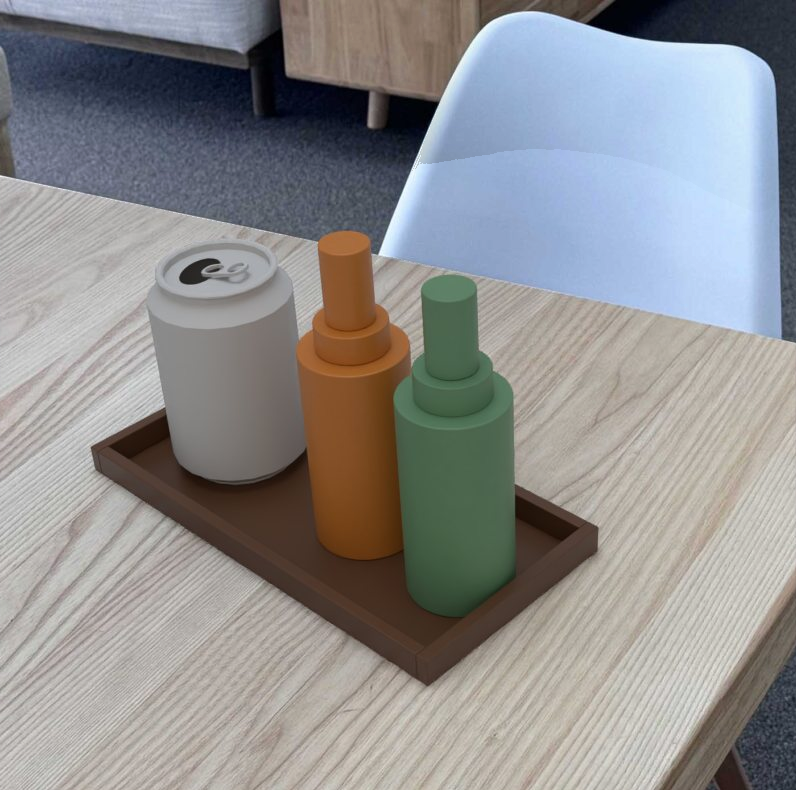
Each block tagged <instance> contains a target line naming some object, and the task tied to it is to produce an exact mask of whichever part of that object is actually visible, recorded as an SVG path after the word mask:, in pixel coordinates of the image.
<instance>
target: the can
mask: <svg viewBox="0 0 796 790" xmlns="http://www.w3.org/2000/svg"><path fill="white" fill-rule="evenodd" d="M278 259H279V258H278V256H277V255H276V254H275V252H274V251H273V250H272V249H271V248H269V247H267V246H265V245H263V244H262V243H259V242H257V241H252V240H248V239H244V238H230V237H229V238H227V237H225V238H215V239H214V238H213V239H205V240H201V241H196V242H193V243H189V244H187V245H184V246H182V247H179V248H176V249H174V250H173V251H172V252H170V253H168V254H167V255H165V256H164V257H163V258H162V259H161V261H160V262H159V263H158V264H157V266H155V269H154V270H155V271H154V280H155V282H154V283H153V285H152V286H151V288H150V289H149V290H148V292H147V297H146V308H147V315H148V320H149V325H150V331H151V337H152V341H153V347H154V353H155V359H156V364H157V369H158V374H159V375H158V376H159V380H160V385H161V391H162V396H163V402H164V407H165V408H166V414H167V419H168V425H169V430H170V436H171V441H172V447H173V452H174V455H175V456H176V458H177V460H178V462H179V464H180V465H181V466H183V467H184V468H185V469H187V470H188V471H190V472H191V473H193V474H196V475H199V476H202V477H203V478H204V479H207V480H210V481H213V482H216V483H219V484H231V485H239V484H249V483H255V482H258V481H261V480H265V479H268V478H270V477H272V476H274V475H276V474H278V473H280V472H282V471H283V470H284V469H285V468H286V467H287V466H288V465H289V464H291V463H292V462H293V461H294V460H295V459H296V458H298V457H299V456H300V455H301V454H302V453H303V452H304V450H305V448H306V437H305V429H304V420H303V411H302V402H301V394H300V385H299V376H298V368H297V359H296V348H297V345H298V343H299V341H300V338H299V337H300V336H299V328H298V318H297V311H296V310H297V309H296V302H295V301H296V300H295V293H294V283H293V279H292V278H291V276H290V275H289V274H288V273H287V271H286V270H285V269H283V268H282V267H280V266H279V260H278Z"/></svg>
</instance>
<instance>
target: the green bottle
mask: <svg viewBox="0 0 796 790" xmlns="http://www.w3.org/2000/svg"><path fill="white" fill-rule="evenodd" d="M420 300H421V319H422V335H423V338H422V340H423V352H422V353H421V354H419V355H418V356H417V357H416V358H415V359H414V361H413V363H412V364H411V367H412V374H411V375H409V376H408V377H406V378H405V379H404V380H403V381H402V382H401V383H400V384H399V385H398V387H397V388H396V390H395V393H394V397H393V404H394V418H395V432H396V446H397V460H398V474H399V488H400V502H401V517H402V531H403V545H404V559H405V573H406V585H407V590H408V592H409V594H410V596H411V598H412V599H413V600H414V601H415V602H416V603H417V604H418V605H419V606H420V607H422V608H423V609H425V610H427V611H429V612H431V613H434V614H437V615H441V616H446V617H454V618H464V617H466V616H467V615H468V614H469V613H471V612H472V611H473V610H475V609H476V608H477V607H478V606H480V605H481V604H482V603H484V602H485V601H486V600H487V599H489V598H490V597H491V596H493V595H494V594H495V593H497V592H498V591H499V590H500V589H502V588H503V587H504V586H506V585H507V584H508V583H509V582H511V581H512V580H513V579H515V578H516V544H515V484H516V483H515V481H516V480H515V479H516V478H515V475H516V473H515V407H514V406H515V405H514V404H515V401H514V395H515V393H514V390H513V387H512V385H511V384H510V382H509V381H508V380H507V379H506V378H505V377H504V376H503V375H501V374H500V373H498V372H497V371H494V365H493V362H492V359H491V358H490V357H489V355H487V354H486V353H484V352H483V351H481V350H480V344H479V343H480V340H479V308H478V307H479V306H478V304H479V303H478V286H477V284H476V282H475V281H474V280H473V279H471V278H470V277H468V276H465V275H460V274H441V275H436V276H433V277H431V278H429V279H427V280H426V281H424V283H423V284H422V285H421V287H420Z"/></svg>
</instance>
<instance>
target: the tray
mask: <svg viewBox="0 0 796 790" xmlns="http://www.w3.org/2000/svg"><path fill="white" fill-rule="evenodd" d="M89 448H90V453H91V456H92V462H93V465H94V469H95V471H97V472H98V473H100V474H102V475H103V476H105V477H106V478H108V479H109V480H110V481H112V482H114V483H115V484H117V485H119V486H120V487H121V488H123V489H125V490H126V491H128V492H129V493H131V494H132V495H134V496H136V497H137V498H138V499H139V500H141V501H143V502H145V503H146V504H147V505H149V506H151V508H154V509H155V510H157V511H159V512H160V513H161V514H163V515H164V516H166V517H168V518H169V519H170V520H172V521H173V522H175V523H177V524H178V525H180V526H182V528H184V529H186V530H187V531H189V532H191V533H192V534H193V535H195V536H197V537H198V538H199V539H201V540H203V541H204V542H206V543H207V544H209V545H211V546H212V547H214V548H215V549H216V550H218V551H220V552H221V553H223V554H225V556H227V557H229V558H230V559H232V560H233V561H235V562H237V563H238V564H240V565H241V566H243V568H246V569H247V570H249V571H250V572H252V573H253V574H255V575H256V576H258V577H259V578H261V579H263V580H264V581H266V582H267V583H268V584H270V585H272V586H273V587H275V588H276V589H278V590H280V592H282V593H284V594H285V595H287V596H288V597H290V598H292V600H295V601H296V602H297V603H299V604H301V605H303V606H304V607H306V608H307V609H309V610H310V611H312V612H313V613H315V614H316V615H318V616H319V617H321V618H322V619H324V620H325V621H327V622H328V623H331V625H333V626H335V627H336V628H338V629H339V630H341V631H342V632H344V633H346V634H347V635H348V636H350V637H351V638H352V639H355V640H356V641H358V642H359V643H360V644H362V645H364V646H365V647H367V648H368V649H370V650H371V651H373V652H374V653H376V654H378V655H379V656H381V657H382V658H383V659H385V660H386V661H389V662H390V663H392V664H393V665H394V666H396V667H398V668H399V669H401V670H402V671H404V672H405V673H407V674H408V675H410V676H411V677H414V678H415V679H416V680H417V681H419V682H421V683H422V684H424V685H425V686H427V687H429V686H431V685H433V683H435V682H436V681H437V680H438V679H440V678H441V677H442V676H444V675H445V674H446V673H448V671H450V670H451V669H452V668H453V667H454V666H456V665H457V664H458V663H460V662H461V661H462V660H463V659H464V658H466V657H467V656H468V655H470V654H471V653H472V652H473V651H475V650H476V649H477V648H479V647H480V646H481V645H482V644H483V643H484V642H486V641H487V640H488V639H490V638H491V637H492V636H493V635H495V634H496V633H497V632H498V631H500V630H501V629H502V628H503V627H505V626H506V625H507V624H508V623H510V621H512V620H513V619H515V618H516V617H517V616H518V615H519V614H521V613H523V611H525V610H526V609H527V608H528V607H529V606H531V605H532V604H533V603H534V602H535V601H537V600H538V599H539V598H540V597H542V596H543V595H544V594H546V593H547V592H548V591H549V590H550V589H552V588H553V587H554V586H556V585H557V584H558V583H560V582H561V581H562V580H563V579H564V578H566V577H567V576H568V575H569V574H571V573H572V572H573V571H575V570H576V569H577V568H578V567H579V566H581V565H582V564H583V563H584V562H586V561H587V560H588V559H589V558H591V557H592V556H593V555H594V554H596V553H597V552H598V549H599V526H597V525H596V524H594V523H592V522H590V521H587V520H586V519H584V518H582V517H580V516H579V515H576V514H574V513H573V512H570V511H569V510H567V509H565V508H563V507H561V506H559V505H557V504H555V503H553V502H551V501H549V500H547V499H546V498H544V497H541V496H539V494H536V493H534V492H532V491H530V490H529V489H526V488H524V487H523V486H520V485H518V484H516V483H515V544H516V578H515V579H513V580H512V581H511V582H509V583H508V584H507V585H506V586H504V587H503V588H502V589H500V590H499V591H498V592H497V593H495V594H494V595H493V596H491V597H490V598H489V599H487V600H486V601H485V602H484V603H482V604H481V605H480V606H478V607H477V608H476V609H475V610H473V611H472V612H471V613H469V614H468V615H467V616H466V617H464V618H454V617H446V616H441V615H437V614H434V613H431V612H429V611H427V610H425V609H423V608H422V607H420V606H419V605H418V604H417V603H416V602H415V601H414V600H413V599H412V598H411V596H410V594H409V592H408V590H407V585H406V573H405V559H404V549H403V550H402V551H400V552H398V553H396V554H393V555H391V556H388V557H384V558H380V559H373V560H354V559H348V558H344V557H341V556H338V555H336V554H334V553H332V552H330V551H329V550H327V549H326V548H325V547H324V546H323V545H322V544H321V542H320V541H319V539H318V537H317V533H316V524H315V516H314V507H313V498H312V490H311V481H310V472H309V463H308V455H307V446H306V448H305V450H304V452H303V453H302V454H301V455H300V456H299V457H298V458H296V459H295V460H294V461H293V462H292V463H291V464H289V465H288V466H287V467H286V468H285V469H284V470H283V471H282V472H280V473H278V474H276V475H274V476H272V477H270V478H268V479H265V480H261V481H258V482H255V483H249V484H239V485H231V484H219V483H216V482H213V481H210V480H207V479H204V478H203V477H202V476H199V475H196V474H193V473H191V472H190V471H188V470H187V469H185V468H184V467H183V466H181V465H180V464H179V462H178V460H177V458H176V456H175V455H174V452H173V447H172V441H171V436H170V430H169V425H168V419H167V414H166V408H165V406H164V407H162V408H160V409H158V410H156V411H154V412H152V413H151V414H149V415H147V416H145V417H143V418H141V419H140V420H137V421H135V422H134V423H132V424H130V425H128V426H126V427H125V428H122V429H121V430H119V431H117V432H115V433H114V434H111V435H109V436H108V437H106V438H104V439H102V440H100V441H98V442H96V443H95V444H92V445H91V446H90V447H89Z"/></svg>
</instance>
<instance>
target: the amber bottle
mask: <svg viewBox="0 0 796 790" xmlns="http://www.w3.org/2000/svg"><path fill="white" fill-rule="evenodd" d="M316 247H317V256H318V265H319V275H320V286H321V295H322V296H321V297H322V306H323V307H322V308H320V309H319V310H318V311H316V312H315V314H314V316H313V317H312V320H311V326H312V329H310V330H308V331H307V332H306V333H305V334H303V336H302V337H301V338H299V343H298V345H297V348H296V359H297V368H298V376H299V385H300V394H301V402H302V411H303V420H304V429H305V437H306V446H307V455H308V463H309V472H310V481H311V490H312V498H313V507H314V516H315V524H316V533H317V537H318V539H319V541H320V542H321V544H322V545H323V546H324V547H325V548H326V549H327V550H329V551H330V552H332V553H334V554H336V555H338V556H341V557H344V558H348V559H354V560H373V559H380V558H384V557H388V556H391V555H393V554H396V553H398V552H400V551H402V550H403V549H404V545H403V531H402V517H401V502H400V488H399V474H398V460H397V446H396V432H395V418H394V404H393V397H394V393H395V390H396V388H397V387H398V385H399V384H400V383H401V382H402V381H403V380H404V379H405V378H406V377H408V376H409V375H411V374H412V354H411V353H412V352H411V341H410V339H409V337H408V335H407V334H406V332H405V331H404V330H403V329H402V328H400V327H399V326H397V324H394V323H391V322H390V314H389V312H388V310H387V309H386V308H384V307H383V306H382V305H380V304H379V303H376V295H375V283H374V282H375V281H374V269H373V256H372V255H373V254H372V243H371V239H370V237H369V236H368V235H366V234H365V233H362V232H359V231H354V230H340V231H339V230H338V231H334V232H330V233H328V234H325V235H324V236H322V237H321V238H320V239H319V240H318V242H317V246H316Z"/></svg>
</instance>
